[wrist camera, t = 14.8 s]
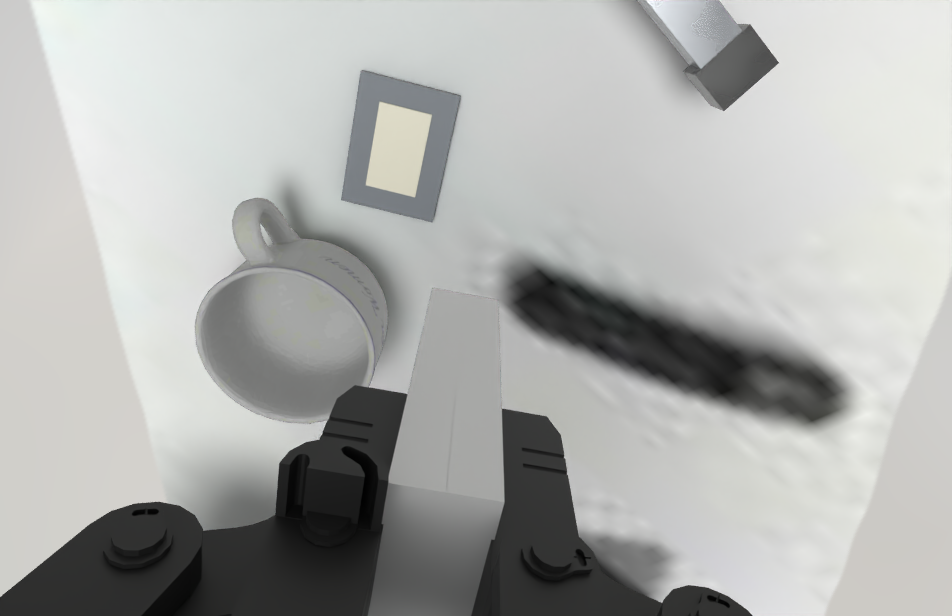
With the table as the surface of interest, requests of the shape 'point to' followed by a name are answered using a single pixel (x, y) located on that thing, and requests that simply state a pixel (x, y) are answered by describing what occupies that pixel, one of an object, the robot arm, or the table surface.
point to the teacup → (290, 321)
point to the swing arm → (713, 47)
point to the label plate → (398, 146)
